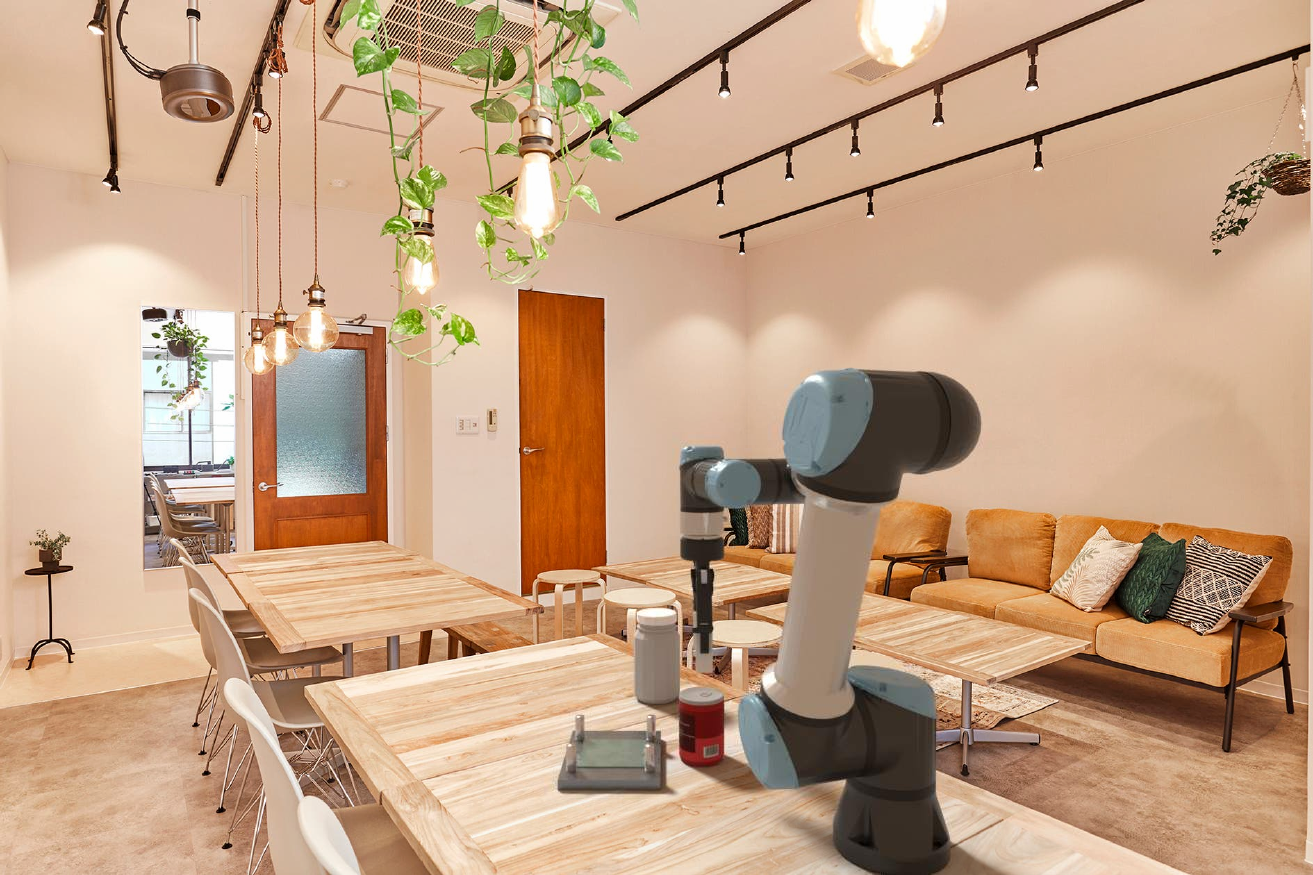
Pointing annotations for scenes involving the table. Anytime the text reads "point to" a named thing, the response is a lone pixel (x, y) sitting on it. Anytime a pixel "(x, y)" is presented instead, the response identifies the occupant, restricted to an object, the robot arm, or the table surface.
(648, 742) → the plate
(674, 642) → the jar
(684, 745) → the canned food
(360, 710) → the table surface
